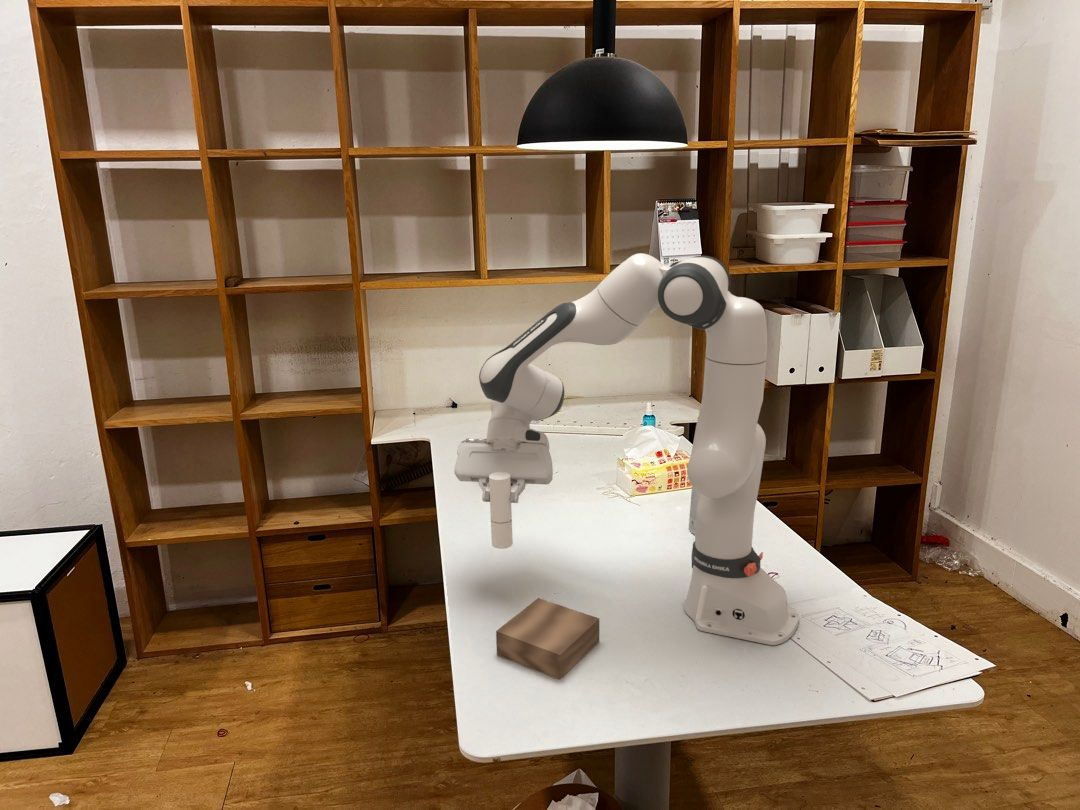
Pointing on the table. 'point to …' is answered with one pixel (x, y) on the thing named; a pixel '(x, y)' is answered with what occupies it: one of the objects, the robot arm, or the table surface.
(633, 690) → the table surface
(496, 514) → the tube
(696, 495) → the ink cartridge box
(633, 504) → the table surface
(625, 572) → the table surface
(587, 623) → the walnut stand
